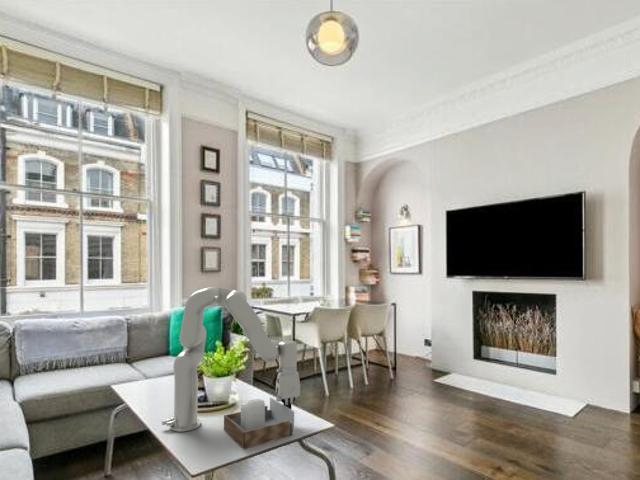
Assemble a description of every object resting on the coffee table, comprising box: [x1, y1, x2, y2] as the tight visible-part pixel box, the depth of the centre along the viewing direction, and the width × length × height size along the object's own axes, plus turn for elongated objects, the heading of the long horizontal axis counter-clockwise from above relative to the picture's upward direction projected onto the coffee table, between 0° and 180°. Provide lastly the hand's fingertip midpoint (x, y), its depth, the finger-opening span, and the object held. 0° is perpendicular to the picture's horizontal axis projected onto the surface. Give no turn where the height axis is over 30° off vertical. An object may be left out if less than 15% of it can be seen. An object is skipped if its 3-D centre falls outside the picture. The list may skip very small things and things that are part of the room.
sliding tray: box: [231, 397, 295, 435], centre depth 167 cm, size 20×20×9 cm
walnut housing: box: [223, 405, 291, 450], centre depth 166 cm, size 20×20×6 cm
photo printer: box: [240, 398, 266, 431], centre depth 165 cm, size 10×4×12 cm, turn 127°
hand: (287, 412), depth 174 cm, fingers closed
